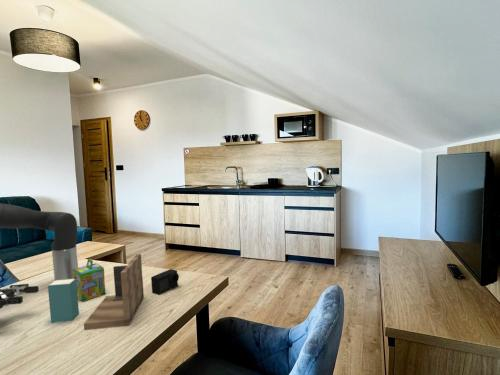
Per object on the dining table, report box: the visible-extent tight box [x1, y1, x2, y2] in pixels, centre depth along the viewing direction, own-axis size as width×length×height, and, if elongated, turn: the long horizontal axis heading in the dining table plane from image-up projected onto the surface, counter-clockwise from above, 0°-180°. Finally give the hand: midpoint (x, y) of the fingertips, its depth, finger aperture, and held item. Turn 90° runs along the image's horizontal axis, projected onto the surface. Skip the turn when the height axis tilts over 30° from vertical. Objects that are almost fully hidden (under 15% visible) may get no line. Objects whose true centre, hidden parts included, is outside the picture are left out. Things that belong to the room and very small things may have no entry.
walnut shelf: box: [83, 253, 145, 330], centre depth 103 cm, size 20×14×18 cm
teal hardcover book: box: [47, 279, 80, 323], centre depth 100 cm, size 4×7×13 cm, turn 97°
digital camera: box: [150, 268, 180, 296], centre depth 121 cm, size 10×5×7 cm, turn 147°
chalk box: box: [73, 258, 106, 303], centre depth 118 cm, size 9×9×15 cm
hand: (30, 294), depth 98 cm, fingers open, 8 cm apart
